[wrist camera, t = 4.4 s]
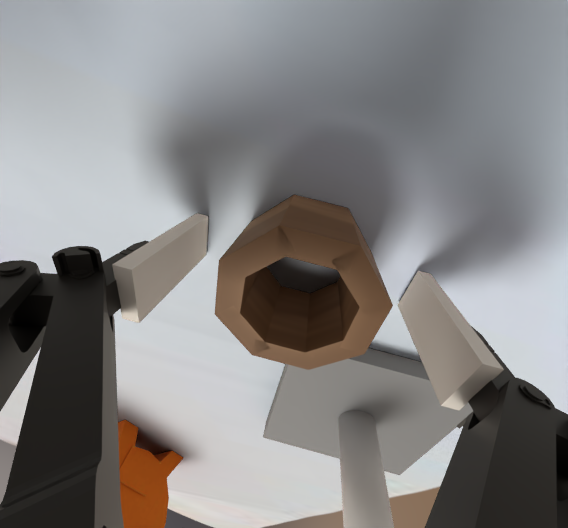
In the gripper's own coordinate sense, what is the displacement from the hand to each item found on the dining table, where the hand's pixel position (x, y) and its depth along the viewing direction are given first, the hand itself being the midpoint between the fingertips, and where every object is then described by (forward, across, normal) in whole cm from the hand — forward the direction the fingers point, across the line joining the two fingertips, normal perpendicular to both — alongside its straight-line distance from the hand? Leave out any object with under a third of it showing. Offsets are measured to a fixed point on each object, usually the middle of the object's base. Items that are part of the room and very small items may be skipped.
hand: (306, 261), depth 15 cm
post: (0, +8, -13) cm, 15 cm away
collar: (0, 0, 0) cm, 0 cm away
